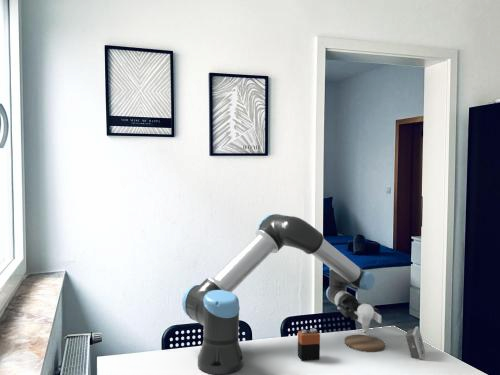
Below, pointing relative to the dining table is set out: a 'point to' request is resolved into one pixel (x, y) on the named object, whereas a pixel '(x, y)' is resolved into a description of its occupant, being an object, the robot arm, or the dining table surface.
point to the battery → (308, 345)
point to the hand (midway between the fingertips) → (371, 319)
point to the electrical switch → (415, 343)
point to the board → (365, 343)
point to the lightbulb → (366, 315)
